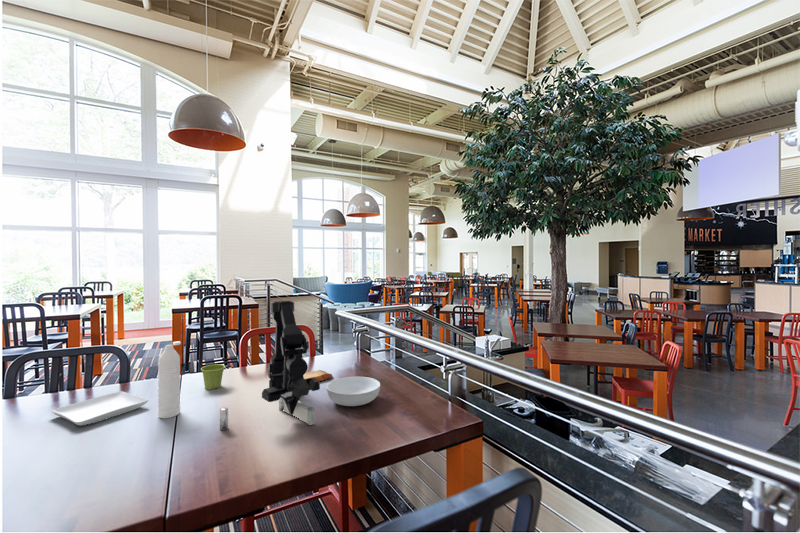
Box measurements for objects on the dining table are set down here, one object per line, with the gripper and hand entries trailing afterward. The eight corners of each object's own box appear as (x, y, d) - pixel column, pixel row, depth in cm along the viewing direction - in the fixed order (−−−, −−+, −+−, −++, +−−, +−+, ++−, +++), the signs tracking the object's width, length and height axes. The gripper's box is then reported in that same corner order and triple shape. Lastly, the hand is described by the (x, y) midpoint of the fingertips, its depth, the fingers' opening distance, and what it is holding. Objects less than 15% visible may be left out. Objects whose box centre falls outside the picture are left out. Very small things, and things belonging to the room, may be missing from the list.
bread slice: (283, 387, 152) (283, 379, 152) (298, 374, 170) (298, 367, 170) (323, 389, 151) (323, 380, 151) (334, 375, 169) (334, 368, 169)
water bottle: (172, 418, 120) (172, 346, 120) (153, 418, 120) (153, 346, 120) (187, 408, 129) (187, 341, 129) (170, 408, 129) (170, 341, 129)
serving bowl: (383, 393, 145) (383, 376, 145) (375, 414, 124) (375, 395, 124) (335, 391, 147) (335, 374, 147) (319, 411, 126) (319, 393, 126)
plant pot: (227, 382, 157) (227, 363, 157) (222, 389, 148) (222, 369, 148) (204, 384, 155) (204, 365, 155) (197, 392, 146) (197, 371, 146)
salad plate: (49, 419, 121) (49, 409, 121) (121, 398, 140) (121, 389, 140) (77, 432, 111) (77, 422, 111) (150, 408, 130) (150, 399, 130)
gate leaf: (283, 411, 126) (283, 396, 126) (287, 409, 127) (287, 395, 127) (310, 425, 115) (310, 409, 115) (314, 423, 116) (314, 407, 116)
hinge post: (283, 407, 130) (283, 390, 130) (287, 409, 128) (287, 392, 128) (277, 409, 128) (277, 392, 128) (281, 411, 126) (281, 393, 126)
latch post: (226, 426, 115) (226, 406, 115) (229, 428, 113) (229, 408, 113) (218, 428, 113) (218, 409, 113) (221, 431, 111) (221, 411, 111)
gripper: (276, 380, 107) (275, 431, 107) (328, 369, 120) (327, 414, 120) (261, 371, 115) (260, 419, 114) (312, 362, 128) (311, 405, 128)
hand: (291, 414), depth 119 cm, fingers closed
